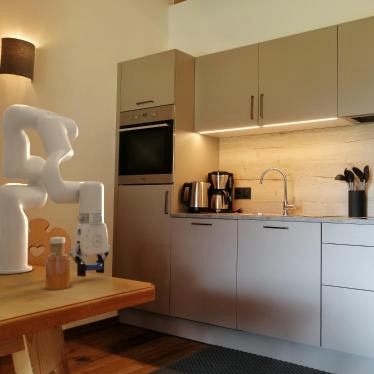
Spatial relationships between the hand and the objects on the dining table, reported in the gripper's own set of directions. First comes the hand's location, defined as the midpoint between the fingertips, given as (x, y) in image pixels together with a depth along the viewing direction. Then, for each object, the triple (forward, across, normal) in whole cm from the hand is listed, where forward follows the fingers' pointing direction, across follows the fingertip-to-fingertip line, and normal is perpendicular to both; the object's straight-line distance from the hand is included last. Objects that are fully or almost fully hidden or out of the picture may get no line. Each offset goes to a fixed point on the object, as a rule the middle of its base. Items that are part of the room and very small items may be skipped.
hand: (90, 274), depth 136 cm
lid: (-3, 0, 0) cm, 3 cm away
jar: (+2, -14, -2) cm, 14 cm away
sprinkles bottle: (+2, -4, +11) cm, 12 cm away
